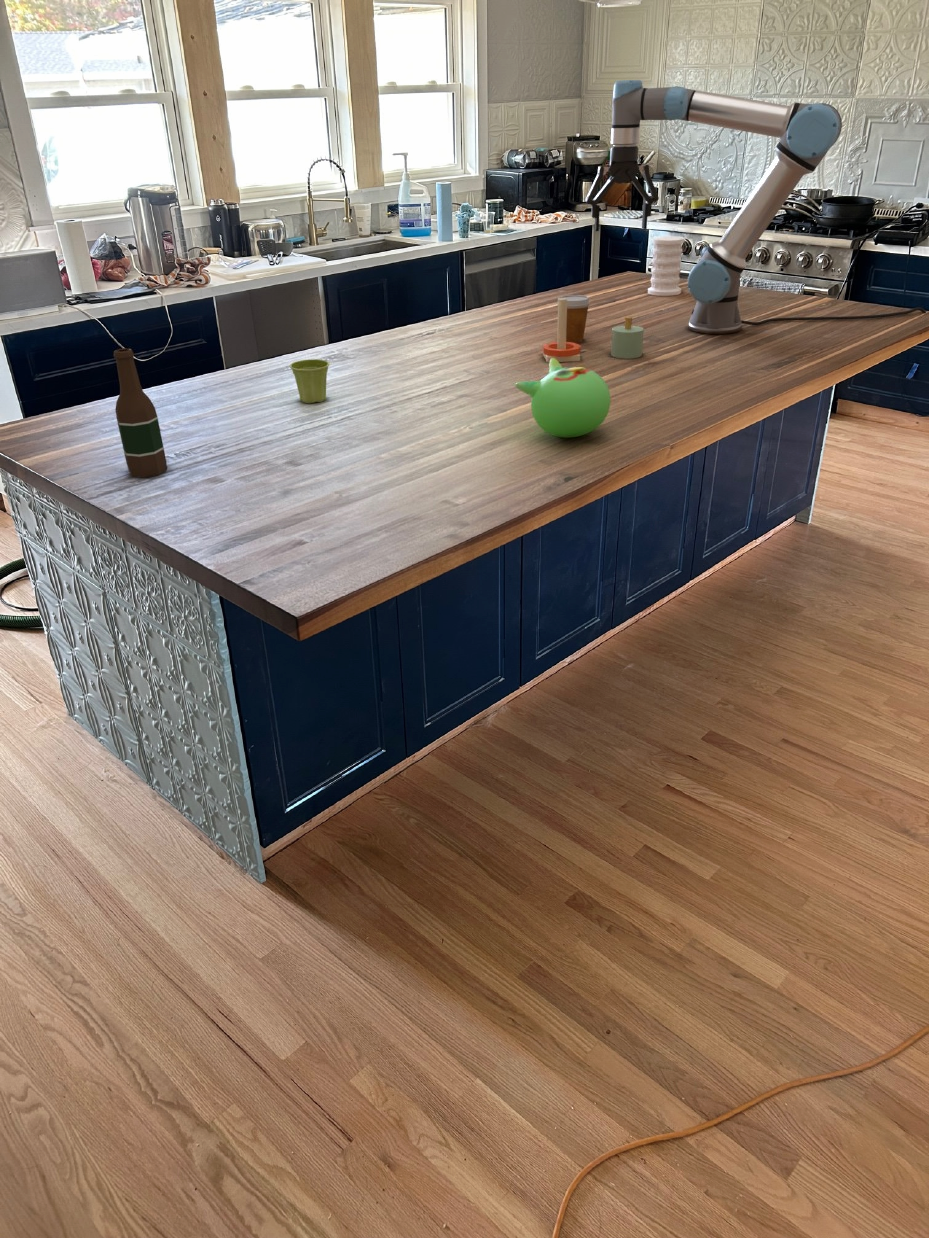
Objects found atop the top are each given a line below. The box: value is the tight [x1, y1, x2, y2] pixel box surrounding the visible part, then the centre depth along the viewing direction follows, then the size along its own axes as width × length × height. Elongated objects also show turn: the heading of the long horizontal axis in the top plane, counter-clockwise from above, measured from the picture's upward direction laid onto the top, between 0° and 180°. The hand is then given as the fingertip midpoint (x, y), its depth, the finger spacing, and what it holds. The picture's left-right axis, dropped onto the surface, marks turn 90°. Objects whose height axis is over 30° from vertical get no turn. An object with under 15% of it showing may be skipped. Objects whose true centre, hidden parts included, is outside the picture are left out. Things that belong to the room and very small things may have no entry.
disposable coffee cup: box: [556, 294, 591, 344], centre depth 266 cm, size 10×10×12 cm
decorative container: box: [647, 235, 685, 297], centre depth 322 cm, size 12×12×18 cm
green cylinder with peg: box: [610, 316, 645, 360], centre depth 251 cm, size 8×8×10 cm
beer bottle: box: [113, 347, 168, 479], centre depth 178 cm, size 8×8×24 cm
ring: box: [542, 341, 582, 357], centre depth 251 cm, size 10×10×2 cm
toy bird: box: [514, 358, 611, 439], centre depth 193 cm, size 18×17×15 cm
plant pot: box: [289, 358, 330, 404], centre depth 222 cm, size 9×9×9 cm
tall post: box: [542, 297, 581, 364], centre depth 249 cm, size 9×9×16 cm
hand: (620, 229), depth 261 cm, fingers open, 13 cm apart
